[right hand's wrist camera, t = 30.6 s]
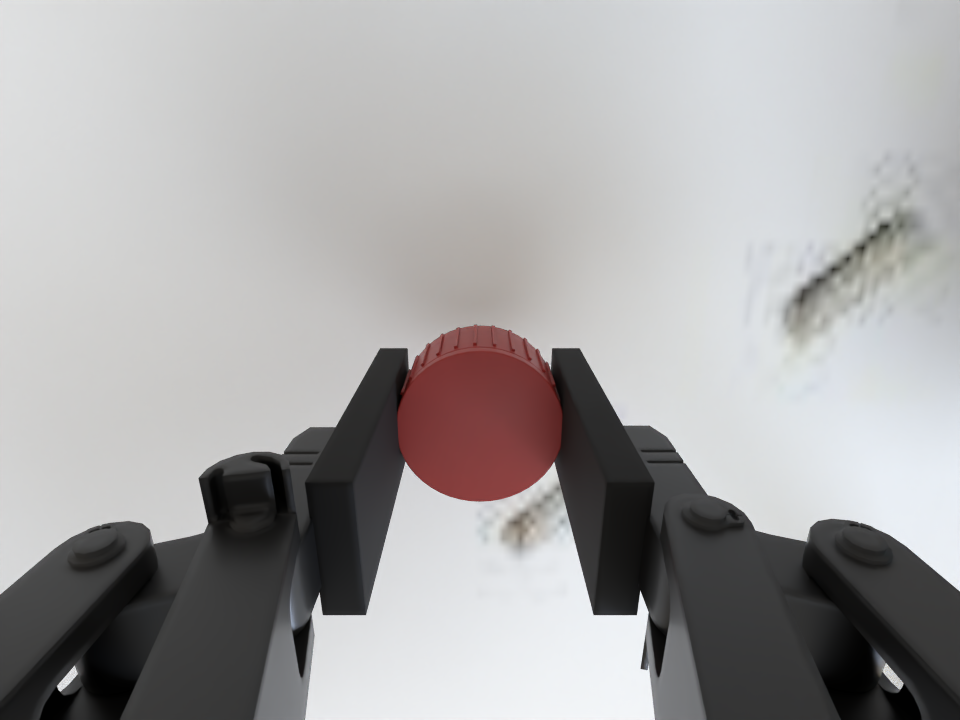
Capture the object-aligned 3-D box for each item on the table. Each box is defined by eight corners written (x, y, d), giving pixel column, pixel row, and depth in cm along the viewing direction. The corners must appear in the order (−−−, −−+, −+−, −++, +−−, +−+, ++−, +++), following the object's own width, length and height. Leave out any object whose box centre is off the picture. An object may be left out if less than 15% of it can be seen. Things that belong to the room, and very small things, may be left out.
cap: (442, 479, 15) (436, 524, 13) (379, 357, 14) (363, 387, 12) (575, 431, 15) (589, 471, 13) (523, 300, 14) (530, 321, 12)
